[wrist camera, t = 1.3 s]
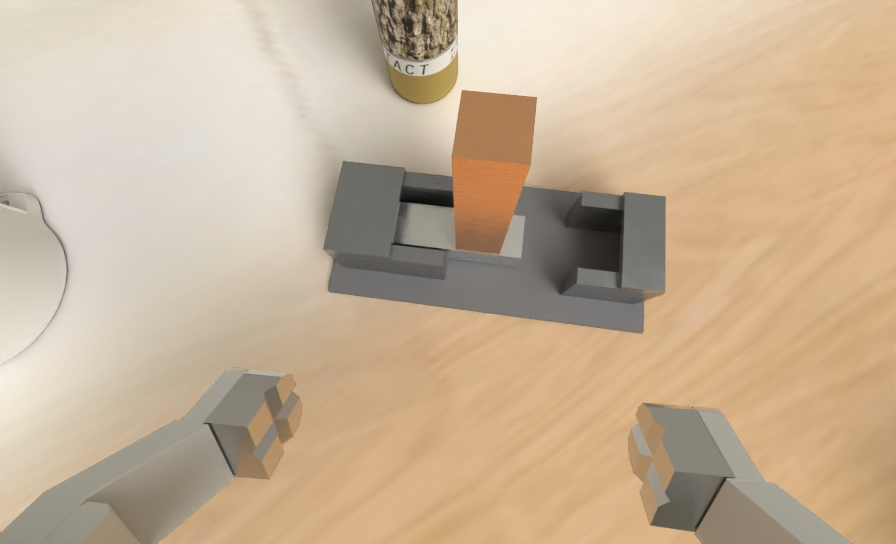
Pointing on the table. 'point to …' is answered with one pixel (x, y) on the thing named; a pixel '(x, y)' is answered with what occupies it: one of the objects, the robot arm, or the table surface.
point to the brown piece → (479, 184)
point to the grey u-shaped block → (383, 219)
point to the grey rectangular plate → (516, 273)
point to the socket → (621, 247)
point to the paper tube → (419, 46)
